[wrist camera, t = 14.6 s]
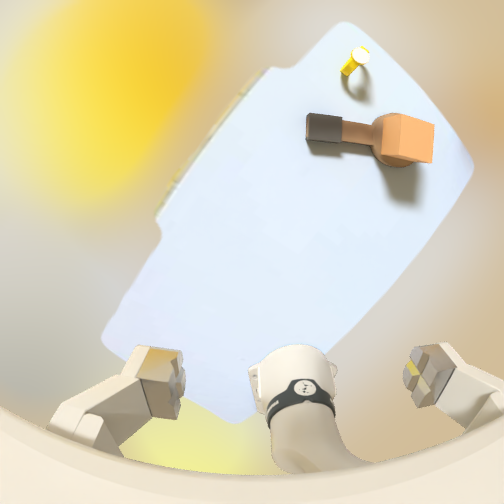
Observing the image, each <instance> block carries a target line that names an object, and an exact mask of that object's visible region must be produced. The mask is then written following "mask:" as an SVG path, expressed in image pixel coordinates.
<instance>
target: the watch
mask: <svg viewBox="0 0 504 504" xmlns="http://www.w3.org/2000/svg"><path fill="white" fill-rule="evenodd" d="M368 53H369V51H368V50H367V49H365V48H364V47H363V46H361V47H360V48H355V49H354V50H352V52H351V57H350V59H349V60H348V61H347V62H346V64H345V65H344V66H343V67H342V68H341V70H340V72H342V73H343V74H344V75H346V76H348V75H350V74H351V73H352V72H353V71H354V70H355V69H356V68H357V67H358V65H364V64H366V63H367V62H368V61H369V54H368Z"/></svg>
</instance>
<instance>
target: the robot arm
mask: <svg viewBox="0 0 504 504" xmlns="http://www.w3.org/2000/svg"><path fill="white" fill-rule="evenodd" d="M410 358H411V361H409V363H407V364H406V366H405V369H404V371H403V381H404V384H405V386H406V388H407V389H408V390H410V391H412V394H411V397H412V399H413V401H414V402H415V405H416V406H417V408H421V407H426V406H430V405H434V404H435V406H436V407H438V408H439V409H440V410H442V411H443V412H445V413H446V414H447V415H448V416H450V417H451V418H452V419H453V420H455V421H456V422H457V423H459V424H460V425H461V426H463V427H464V428H465V429H466V430H465V431H464V432H463V434H462V435H461V436H459V437H456V438H454V439H451V440H449V441H446V442H444V443H441V444H439V445H436V446H433V447H430V448H427V449H424V450H421V451H418V452H415V453H411V454H408V455H404V456H401V457H397V458H394V459H389V460H385V461H382V462H377V463H372V462H368V461H364V460H362V459H360V458H358V457H356V456H354V455H353V454H352V453H351V452H350V451H349V450H348V449H347V448H346V447H345V445H344V444H343V441H342V439H341V436H340V434H339V431H338V428H337V425H336V422H335V406H334V403H333V399H334V397H335V395H336V394H337V391H336V386H335V382H334V377H335V375H336V373H337V367H336V365H334V364H333V363H331V362H329V361H328V360H327V358H326V357H325V355H324V354H323V353H322V352H321V351H320V350H318V349H317V348H315V347H312V346H309V345H302V344H295V345H288V346H284V347H281V348H278V349H276V350H274V351H273V352H271V353H270V354H268V355H267V356H266V357H265V358H264V359H263V360H262V361H261V362H259V363H257V364H255V365H252V366H251V367H249V368H248V374H249V378H250V383H251V387H252V391H253V395H254V399H255V403H256V407H257V411H258V412H259V413H261V414H264V415H265V418H266V421H267V424H268V427H269V429H270V433H271V451H272V458H273V460H274V462H275V463H276V465H277V466H278V467H279V468H280V469H282V470H283V471H286V472H288V473H291V475H231V474H230V475H229V474H216V473H206V472H197V471H189V470H181V469H175V468H170V467H164V466H158V465H153V464H149V463H144V462H140V461H136V460H132V459H128V458H124V456H123V454H122V453H121V451H120V449H119V448H118V446H119V445H121V444H122V443H123V442H124V441H125V440H127V439H128V438H129V437H130V436H132V435H133V434H134V433H135V432H136V431H137V430H138V429H140V428H141V427H142V426H143V425H144V424H146V423H147V422H148V421H149V420H150V419H151V418H152V417H157V418H164V419H172V420H177V417H178V414H179V410H180V406H181V404H180V399H179V398H181V397H182V396H183V395H184V390H185V382H186V379H185V370H184V369H183V367H182V362H183V355H182V352H181V350H174V349H166V348H159V347H151V346H144V345H137V346H136V347H135V348H134V350H133V352H132V354H131V355H130V357H129V359H128V361H127V363H126V365H125V366H124V368H123V370H122V372H121V374H120V375H114V376H112V377H110V378H108V379H106V380H105V381H103V382H101V383H99V384H97V385H95V386H93V387H91V388H89V389H88V390H86V391H84V392H82V393H80V394H78V395H76V396H74V397H72V398H70V399H68V400H66V401H64V402H62V403H61V405H60V406H59V408H58V409H57V411H56V413H55V414H54V416H53V417H52V419H51V421H50V422H49V424H48V426H47V427H46V429H44V428H41V427H39V426H37V425H35V424H33V423H31V422H29V421H27V420H25V419H23V418H21V417H19V416H18V415H16V414H14V413H12V412H10V411H8V410H7V409H5V408H3V407H2V406H0V504H504V380H502V379H499V378H497V377H495V376H493V375H491V374H489V373H487V372H485V371H483V370H480V369H478V368H476V367H474V366H472V365H467V364H466V363H465V362H464V361H463V360H462V358H461V357H460V356H459V355H458V353H457V352H456V351H455V350H454V349H453V348H452V346H451V345H450V344H449V343H447V342H441V343H436V344H432V345H425V346H418V347H414V349H413V350H412V352H411V354H410ZM254 375H255V376H254Z"/></svg>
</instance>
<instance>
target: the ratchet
mask: <svg viewBox="0 0 504 504" xmlns="http://www.w3.org/2000/svg"><path fill="white" fill-rule="evenodd" d="M394 115H399V113H390V114H386V115H383V116H380V117H378V118H377V119H376V120H375V121H374V122H373V123H372V125H368V124H362V123H356V122H350V121H344V120H342V117H338V116H331V115H323V114H315V113H309V114H308V115H307V117H306V140H312V141H321V142H330V143H341V141H342V142H349V143H356V144H363V145H369V146H370V148H371V151H372V153H373V154H374V156H375V157H376V158H377V159H378V160H379V161H380V162H381V163H383V164H385V165H388V166H393V167H406V166H409V165H410V164H412V163H413V162H412V161H408V160H404V159H399V158H395V157H391V156H386V155H382V154H381V149H382V136H383V120H384V118H386V117H390V116H394Z"/></svg>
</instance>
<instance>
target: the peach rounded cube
mask: <svg viewBox="0 0 504 504" xmlns="http://www.w3.org/2000/svg"><path fill="white" fill-rule="evenodd" d="M433 141H434V124H431V123H428V122H425V121H422V120H419V119H416V118H413V117H410V116H407V115H404V114H399V115H394V116H390V117H386V118H384V120H383V136H382V149H381V154H382V155H386V156H391V157H395V158H399V159H404V160H408V161H412V162H422V163H432V155H433Z"/></svg>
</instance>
